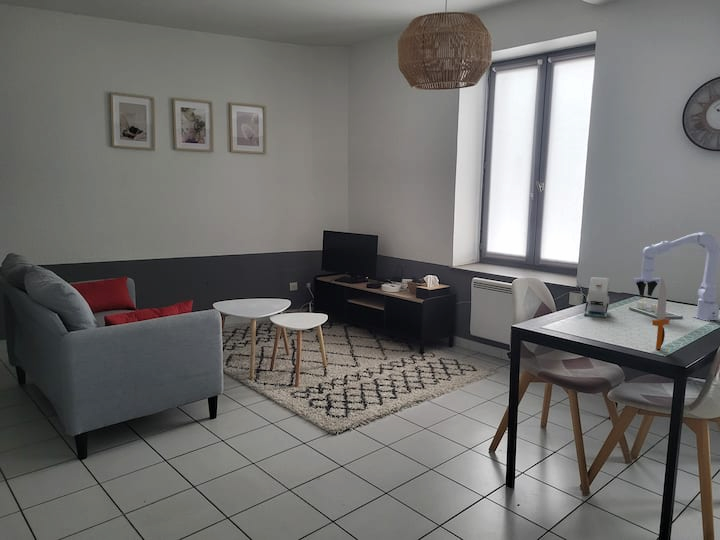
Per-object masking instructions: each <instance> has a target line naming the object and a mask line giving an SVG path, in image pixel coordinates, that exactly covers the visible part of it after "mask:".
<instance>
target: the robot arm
mask: <svg viewBox="0 0 720 540" xmlns="http://www.w3.org/2000/svg"><path fill="white" fill-rule="evenodd" d="M688 244H695V245H696V244H697V245H700V246H701V247H702V248H704V250H706V258H705V264H704V272H703V278H702V282H701V283H700V287H699V288H698V290H697V293H696V294H697V296H698V299H697V305H696V306H697V307H696V315H692V316H691V317H693V318H695V317H696V319H698V318H699V320H702V321H705V320H706V322H709V321H710V320H716V321H720V318H719V315H720V314H719V313H720V306H719V304H717V303H715V301H716V299H717V297H718V294H717V290H716V289H717V287H716V284H715V283H716V277H717V270H718V264H719V257H720V246H719V243H718V242H717V240H716V237H715V236H713V234H711V233H708V232H704V231H698V232H695V233H690V234H688V235H685V236H682V237H679V238H678V239H674V240H672V241H668V240H662V241H660V242H659V243H656V244H654V243H653V244H651V246H646V247H644V248H643V250H642V251H641V254H642V256H643V257H642V263H641V274H640V275H641V276H640V277H633V278H632V280H633V283H635V284H636V286H637V289H638V293H639V296H640V297H644V296H645V289H646V286H647V296H649V297H652V295H653V292H654V291H655V289H656V287H657V286H658V284H659V283H661V277H654V276H655V266H656V265H655V263H656V257H657V256H661V255H664V254H667V253H669V252H671V251H672V250H673V249H674V248H677V247H680V246H683V245H688ZM710 322H711V321H710Z"/></svg>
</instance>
